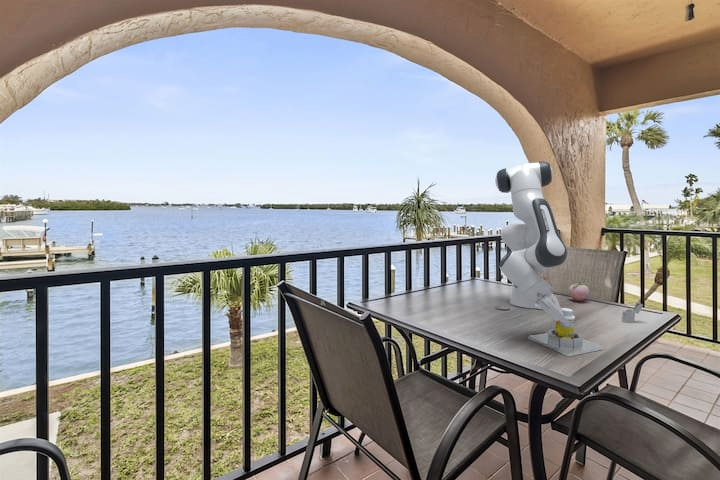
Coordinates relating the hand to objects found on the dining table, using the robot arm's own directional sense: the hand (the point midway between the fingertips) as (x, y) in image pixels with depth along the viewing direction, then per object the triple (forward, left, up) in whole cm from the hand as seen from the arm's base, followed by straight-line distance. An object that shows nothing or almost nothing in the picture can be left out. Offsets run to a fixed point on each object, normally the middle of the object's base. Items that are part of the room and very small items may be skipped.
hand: (567, 321), depth 120 cm
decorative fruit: (-55, -37, -8) cm, 67 cm away
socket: (0, 0, -8) cm, 8 cm away
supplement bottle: (+1, 0, -6) cm, 6 cm away
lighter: (-47, -7, -8) cm, 48 cm away
